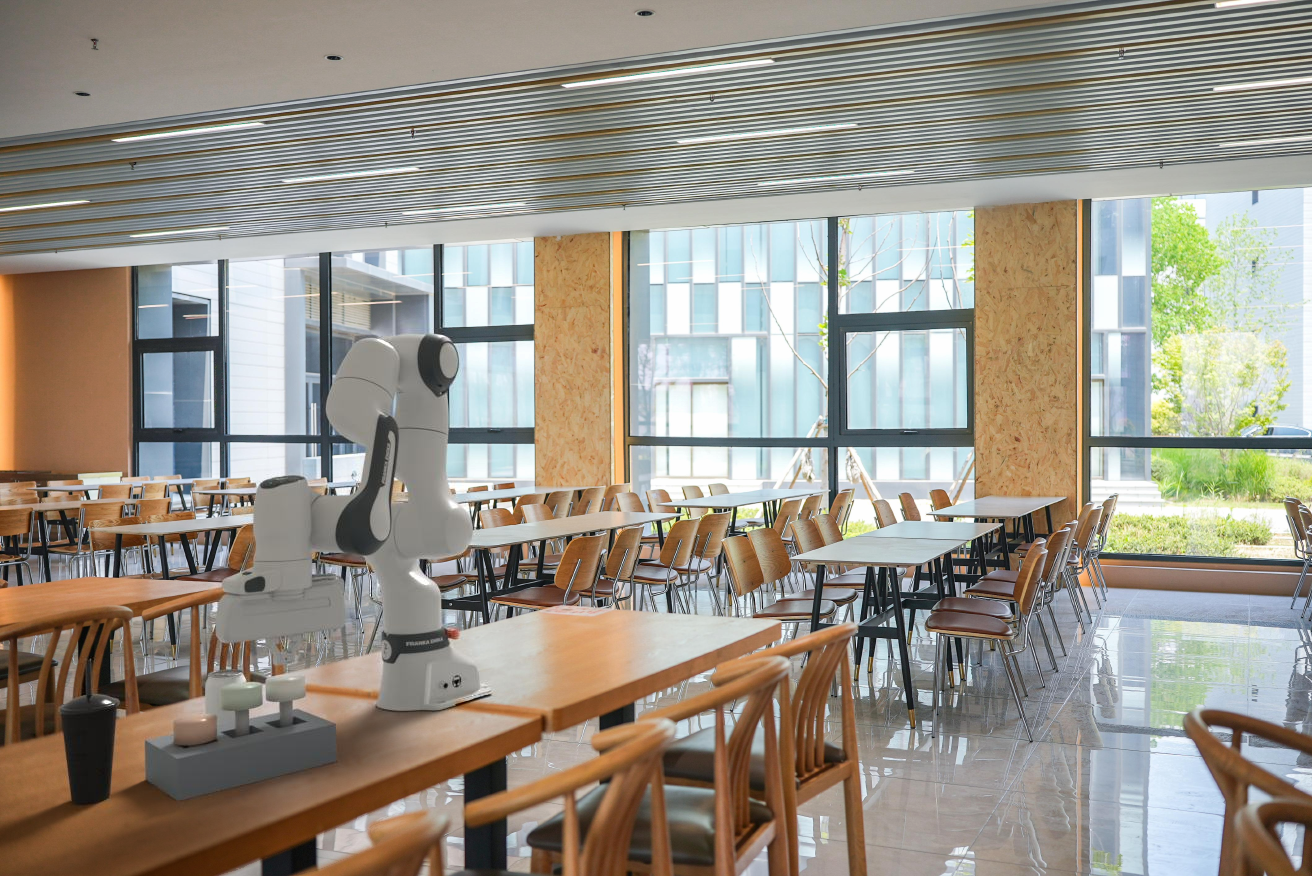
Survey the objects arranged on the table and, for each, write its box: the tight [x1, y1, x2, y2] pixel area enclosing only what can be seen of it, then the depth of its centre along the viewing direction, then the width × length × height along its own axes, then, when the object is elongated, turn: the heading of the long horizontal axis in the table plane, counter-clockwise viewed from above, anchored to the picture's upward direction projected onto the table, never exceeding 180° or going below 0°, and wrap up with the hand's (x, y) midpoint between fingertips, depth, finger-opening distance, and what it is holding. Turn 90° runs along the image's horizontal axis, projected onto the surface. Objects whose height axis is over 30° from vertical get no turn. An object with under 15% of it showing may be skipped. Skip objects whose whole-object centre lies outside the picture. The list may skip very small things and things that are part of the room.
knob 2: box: [264, 673, 307, 728], centre depth 161 cm, size 6×6×8 cm
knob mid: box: [221, 681, 264, 737], centre depth 156 cm, size 6×6×8 cm
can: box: [204, 668, 247, 725], centre depth 171 cm, size 6×6×12 cm
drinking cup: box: [58, 658, 120, 806], centre depth 144 cm, size 8×8×20 cm
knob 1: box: [172, 713, 217, 748], centre depth 151 cm, size 6×6×8 cm
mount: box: [144, 708, 338, 802], centre depth 156 cm, size 24×14×6 cm, turn 134°
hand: (283, 663), depth 160 cm, fingers closed
